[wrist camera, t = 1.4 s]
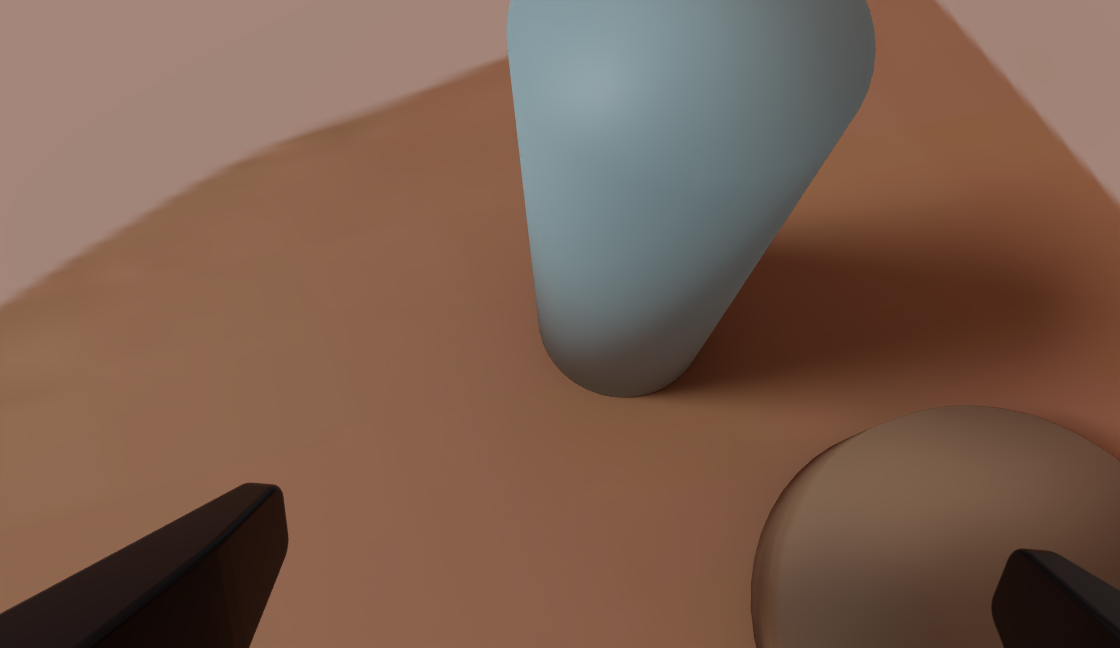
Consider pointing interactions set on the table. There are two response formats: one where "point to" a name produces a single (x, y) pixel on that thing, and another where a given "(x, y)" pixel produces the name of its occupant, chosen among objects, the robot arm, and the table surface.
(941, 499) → the walnut base
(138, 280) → the table surface
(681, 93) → the blue-grey cylinder
